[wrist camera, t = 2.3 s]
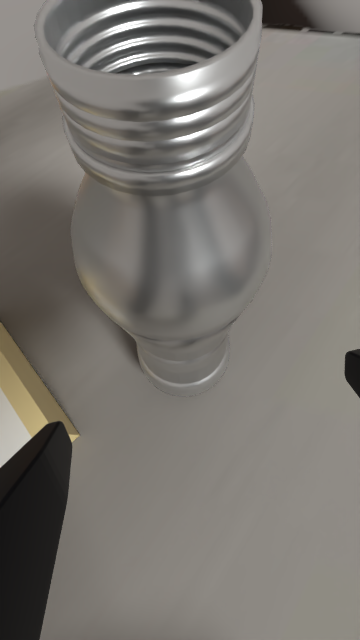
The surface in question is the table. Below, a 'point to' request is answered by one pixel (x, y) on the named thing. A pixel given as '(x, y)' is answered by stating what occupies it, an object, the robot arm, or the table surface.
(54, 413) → the bay
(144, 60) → the plastic bottle
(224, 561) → the table surface
